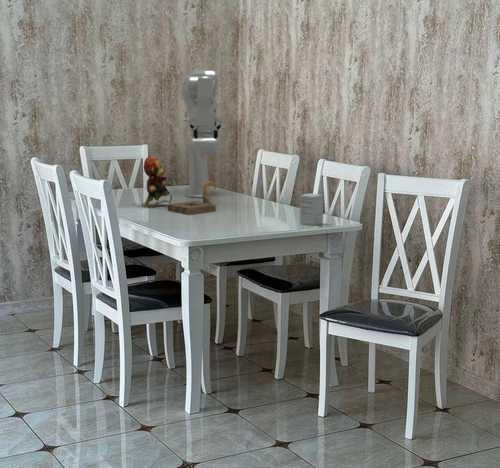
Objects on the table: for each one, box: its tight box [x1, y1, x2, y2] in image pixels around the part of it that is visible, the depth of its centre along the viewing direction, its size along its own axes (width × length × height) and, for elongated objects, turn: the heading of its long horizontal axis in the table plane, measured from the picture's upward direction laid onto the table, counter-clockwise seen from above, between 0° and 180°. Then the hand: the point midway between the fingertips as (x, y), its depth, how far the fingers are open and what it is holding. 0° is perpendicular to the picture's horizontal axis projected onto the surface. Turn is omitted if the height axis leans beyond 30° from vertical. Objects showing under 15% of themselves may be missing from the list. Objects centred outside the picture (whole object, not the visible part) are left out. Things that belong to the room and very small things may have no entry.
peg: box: [202, 182, 211, 204], centre depth 396 cm, size 4×4×12 cm
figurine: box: [200, 178, 217, 201], centre depth 411 cm, size 8×6×12 cm
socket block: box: [167, 200, 217, 216], centre depth 387 cm, size 16×16×3 cm
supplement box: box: [299, 192, 324, 226], centre depth 353 cm, size 7×7×13 cm
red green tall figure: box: [143, 155, 172, 208], centre depth 400 cm, size 15×17×25 cm
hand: (205, 138), depth 395 cm, fingers open, 9 cm apart
